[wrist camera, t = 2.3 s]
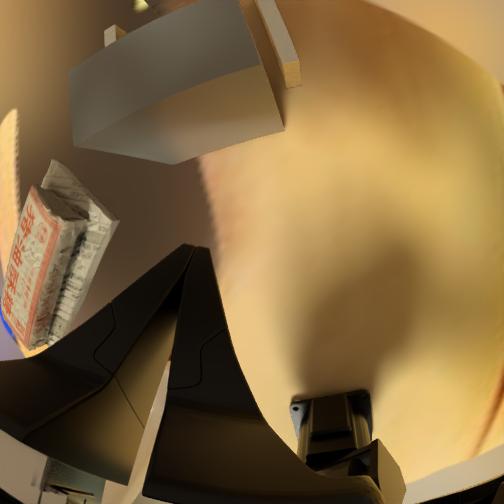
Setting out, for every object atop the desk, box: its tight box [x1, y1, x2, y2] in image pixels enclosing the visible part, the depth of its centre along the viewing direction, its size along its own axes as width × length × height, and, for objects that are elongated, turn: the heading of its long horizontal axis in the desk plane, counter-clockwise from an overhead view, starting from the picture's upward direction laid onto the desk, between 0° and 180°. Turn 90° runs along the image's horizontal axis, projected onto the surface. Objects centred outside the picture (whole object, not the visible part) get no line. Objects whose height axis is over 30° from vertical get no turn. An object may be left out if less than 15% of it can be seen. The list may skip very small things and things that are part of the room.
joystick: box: [101, 361, 171, 504], centre depth 14 cm, size 11×8×20 cm
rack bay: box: [104, 0, 301, 89], centre depth 14 cm, size 10×12×8 cm
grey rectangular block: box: [69, 0, 285, 165], centre depth 14 cm, size 4×8×10 cm, turn 105°
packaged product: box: [1, 159, 120, 351], centre depth 22 cm, size 18×5×10 cm
